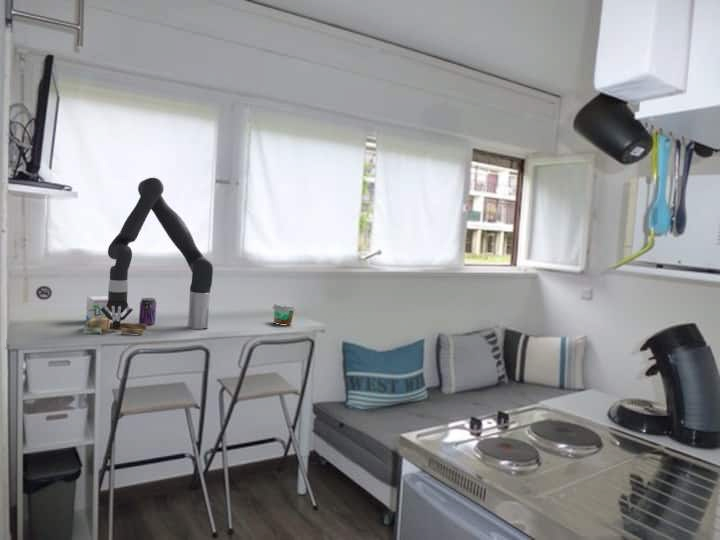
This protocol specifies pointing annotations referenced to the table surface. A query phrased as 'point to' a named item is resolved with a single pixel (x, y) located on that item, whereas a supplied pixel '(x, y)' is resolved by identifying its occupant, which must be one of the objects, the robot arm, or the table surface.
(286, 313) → the food container
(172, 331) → the table surface
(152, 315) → the beverage can
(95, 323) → the block
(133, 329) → the channel
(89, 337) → the table surface
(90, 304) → the ink box
